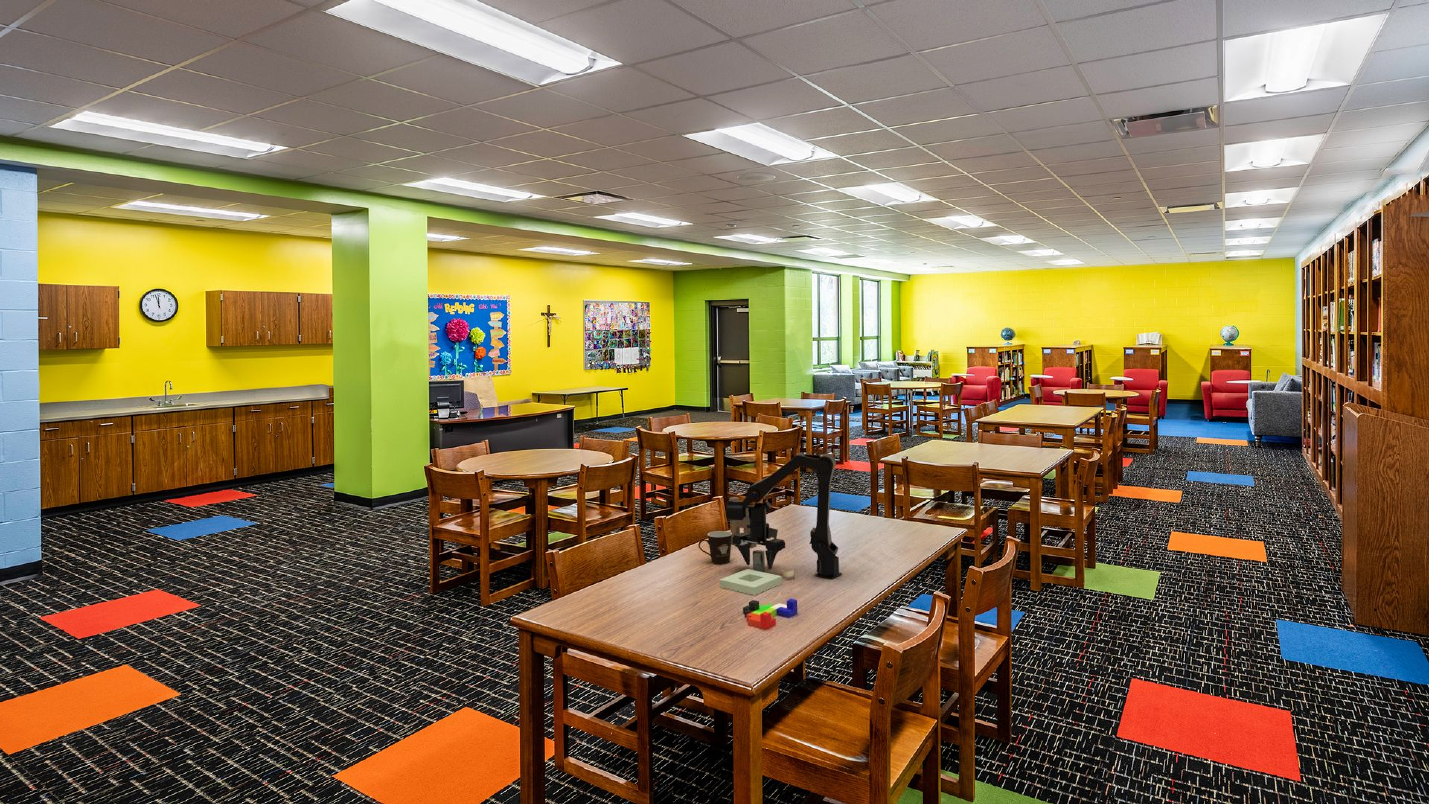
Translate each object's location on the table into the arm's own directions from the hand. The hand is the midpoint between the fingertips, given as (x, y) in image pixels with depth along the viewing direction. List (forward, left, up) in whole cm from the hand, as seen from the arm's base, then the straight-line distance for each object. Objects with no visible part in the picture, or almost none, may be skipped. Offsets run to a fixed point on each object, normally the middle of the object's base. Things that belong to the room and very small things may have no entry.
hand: (759, 567), depth 262 cm
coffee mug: (+20, -1, -2) cm, 20 cm away
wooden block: (+27, -24, -2) cm, 36 cm away
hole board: (-7, +13, -2) cm, 15 cm away
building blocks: (-28, +33, -2) cm, 43 cm away
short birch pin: (-12, 0, -2) cm, 12 cm away
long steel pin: (0, 0, -2) cm, 2 cm away
